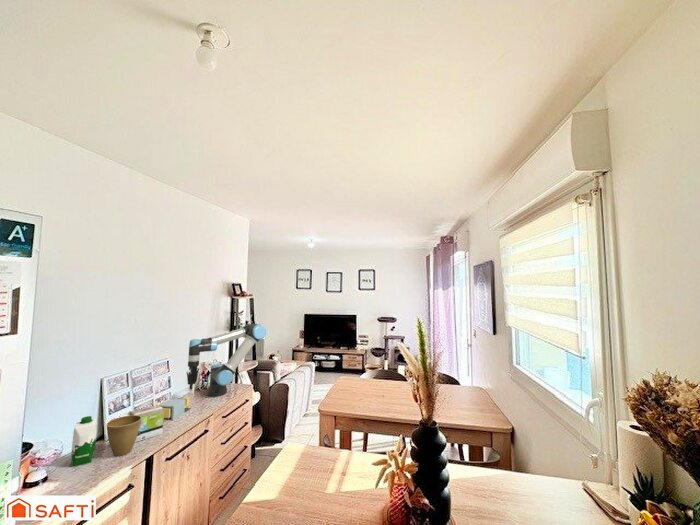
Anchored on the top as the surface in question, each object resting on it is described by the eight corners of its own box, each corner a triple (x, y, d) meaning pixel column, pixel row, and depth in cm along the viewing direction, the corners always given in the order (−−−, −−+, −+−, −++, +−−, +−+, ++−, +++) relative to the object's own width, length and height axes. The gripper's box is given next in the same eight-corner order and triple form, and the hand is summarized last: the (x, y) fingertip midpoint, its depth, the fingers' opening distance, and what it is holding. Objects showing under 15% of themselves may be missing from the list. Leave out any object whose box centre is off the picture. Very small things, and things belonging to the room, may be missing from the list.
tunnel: (180, 406, 224) (181, 393, 225) (194, 406, 224) (194, 393, 225) (147, 425, 192) (148, 410, 192) (163, 426, 191) (164, 411, 192)
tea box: (133, 443, 170) (135, 415, 171) (126, 438, 176) (128, 411, 177) (163, 434, 181) (164, 407, 183) (156, 429, 188) (157, 403, 189)
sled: (183, 405, 224) (184, 396, 225) (190, 405, 224) (191, 396, 224) (160, 419, 200) (161, 408, 200) (168, 419, 199) (169, 409, 200)
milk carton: (94, 455, 158) (98, 414, 159) (93, 463, 150) (96, 420, 152) (71, 460, 153) (75, 418, 154) (69, 469, 145) (73, 424, 147)
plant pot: (144, 444, 169) (147, 414, 170) (130, 459, 154) (132, 425, 156) (114, 446, 166) (117, 415, 168) (96, 461, 152) (99, 427, 153)
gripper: (193, 358, 239) (191, 390, 236) (183, 362, 226) (181, 395, 223) (203, 359, 238) (201, 390, 236) (193, 362, 225) (191, 396, 223)
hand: (191, 393), depth 230 cm, fingers closed
